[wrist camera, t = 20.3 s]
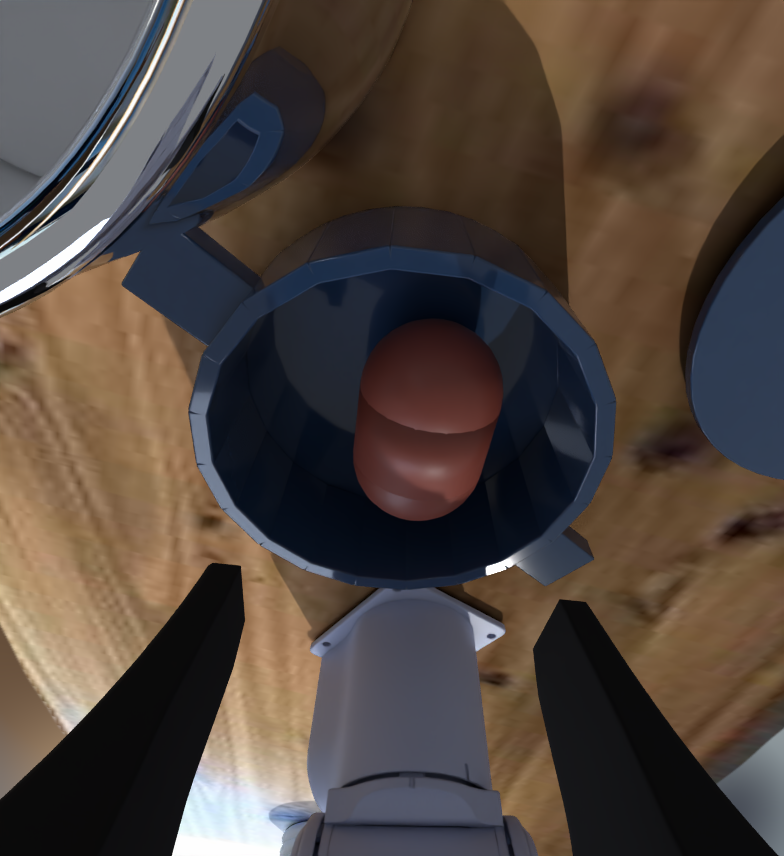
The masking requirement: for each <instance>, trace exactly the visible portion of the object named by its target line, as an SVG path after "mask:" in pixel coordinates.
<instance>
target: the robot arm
mask: <svg viewBox="0 0 784 856" xmlns="http://www.w3.org/2000/svg"><path fill="white" fill-rule="evenodd" d="M244 622H245V614H244V601H243V588H242V575H241V566H238V565H228V564H219V563H212V564H210V565H208V567H207V568H206V570H205V571H204V573H203V574H202V576H201V577H200V578H199V580H198V581H197V583H196V584H195V586H194V587H193V588H192V590H191V591H190V593H189V594H188V595H187V597H186V598H185V599H184V601H183V602H182V603H181V605H180V606H179V607H178V609H177V610H176V611H175V613H174V614H173V615H172V616H171V618H170V619H169V620H168V622H167V623H166V624H165V625H164V627H163V628H162V629H161V630H160V632H159V633H158V634H157V635H156V636H155V638H154V639H153V640H152V641H151V643H150V644H149V645H148V646H147V648H146V649H145V650H144V651H143V652H142V654H141V655H140V656H139V657H138V658H137V660H136V661H135V662H134V663H133V664H132V665H131V667H130V668H129V669H128V670H127V671H126V672H125V673H124V674H123V676H122V677H121V678H120V679H119V680H118V681H117V682H116V683H115V685H114V686H113V687H112V688H111V689H110V690H109V691H108V692H107V693H106V695H105V696H104V697H103V698H102V699H101V700H100V701H99V702H98V703H97V705H96V706H95V707H94V708H93V709H92V710H91V711H90V712H89V713H88V714H87V715H86V716H85V717H84V718H83V719H82V720H81V721H80V722H79V724H78V725H77V726H76V727H75V728H74V729H73V730H72V731H71V732H70V733H69V734H68V735H67V736H66V737H65V738H64V739H63V740H62V741H61V742H60V743H59V744H58V745H57V746H56V747H55V748H54V749H53V750H52V751H51V752H50V753H49V754H48V755H47V756H46V757H45V758H44V759H43V760H42V761H41V762H40V763H38V764H37V765H36V766H35V767H34V768H33V769H32V770H31V771H30V772H29V773H28V774H27V775H26V776H25V777H24V778H23V779H22V780H21V781H19V782H18V783H17V784H16V785H15V786H14V787H13V788H12V789H11V790H10V791H9V792H8V793H7V794H6V795H5V796H4V797H2V798H1V799H0V856H172V853H173V849H174V845H175V841H176V838H177V834H178V830H179V827H180V823H181V819H182V816H183V812H184V808H185V805H186V801H187V798H188V795H189V792H190V789H191V786H192V783H193V779H194V777H195V774H196V771H197V768H198V765H199V763H200V760H201V757H202V754H203V751H204V749H205V746H206V743H207V740H208V737H209V735H210V732H211V729H212V726H213V723H214V721H215V718H216V715H217V712H218V709H219V707H220V704H221V701H222V698H223V695H224V693H225V690H226V687H227V684H228V681H229V678H230V675H231V673H232V670H233V667H234V663H235V659H236V655H237V651H238V647H239V643H240V639H241V635H242V630H243V626H244ZM505 632H506V631H505V626H504V624H503V623H501V622H499V621H497V620H495V619H493V618H491V617H489V616H488V615H486V614H484V613H482V612H480V611H478V610H476V609H474V608H472V607H470V606H468V605H466V604H464V603H463V602H461V601H459V600H457V599H455V598H453V597H451V596H449V595H447V594H445V593H443V592H441V591H440V590H438V589H436V588H434V587H433V588H423V589H414V590H407V589H406V590H397V589H387V588H379V589H378V590H377V591H375V592H374V593H373V594H372V595H370V596H369V597H368V598H367V599H366V600H364V601H363V602H362V603H361V604H359V605H358V606H357V607H356V608H355V609H353V610H352V611H351V612H350V613H348V614H347V615H346V616H345V617H343V618H342V619H341V620H340V621H339V622H337V623H336V624H335V625H334V626H332V627H331V628H330V629H329V630H327V631H326V632H325V633H324V634H323V635H321V636H320V637H319V638H318V639H316V640H315V641H314V642H313V643H312V644H311V647H310V651H311V653H313V654H314V655H317V656H319V657H322V661H321V668H320V674H319V681H318V687H317V694H316V701H315V707H314V714H313V721H312V727H311V734H310V740H309V747H308V756H307V770H308V778H309V783H310V787H311V790H312V793H313V796H314V799H315V801H316V803H317V805H318V807H319V808H320V810H321V811H322V812H323V813H314V814H312V816H311V817H310V818H309V820H308V822H307V823H306V824H305V826H304V827H303V828H302V829H301V830H300V832H299V833H298V835H297V837H296V839H295V842H294V845H293V848H292V851H291V855H290V856H538V854H537V850H536V847H535V844H534V842H533V839H532V837H531V836H530V834H529V833H528V832H527V831H526V830H525V829H524V827H523V826H522V825H521V823H520V821H519V820H518V819H517V818H516V817H515V816H502V808H501V801H500V793H499V792H498V791H493V790H492V783H491V775H490V766H489V758H488V749H487V741H486V732H485V724H484V715H483V707H482V699H481V690H480V682H479V673H478V665H477V656H476V651H478V650H479V649H481V648H483V647H484V646H486V645H488V644H489V643H491V642H492V641H494V640H496V639H497V638H499V637H501V636H502V635H503V634H505ZM533 653H534V663H535V672H536V680H537V688H538V696H539V700H540V705H541V709H542V714H543V718H544V723H545V727H546V731H547V736H548V740H549V744H550V748H551V753H552V757H553V761H554V765H555V770H556V774H557V778H558V782H559V786H560V791H561V795H562V799H563V803H564V808H565V813H566V818H567V823H568V828H569V833H570V839H571V845H572V852H573V856H778V855H777V854H776V853H775V852H774V850H773V849H772V848H771V847H770V846H769V845H768V844H767V843H766V842H765V840H764V839H763V838H762V837H761V836H760V835H759V834H758V833H757V831H756V830H755V829H754V828H753V827H752V826H751V825H750V824H749V822H748V821H747V820H746V819H745V818H744V817H743V816H742V814H741V813H740V812H739V811H738V810H737V809H736V807H735V806H734V805H733V804H732V803H731V801H730V800H729V799H728V798H727V797H726V795H725V794H724V793H723V792H722V791H721V790H720V788H719V787H718V786H717V785H716V783H715V782H714V781H713V780H712V778H711V777H710V776H709V775H708V774H707V772H706V771H705V770H704V768H703V767H702V766H701V765H700V763H699V762H698V761H697V760H696V758H695V757H694V756H693V754H692V753H691V752H690V751H689V749H688V748H687V747H686V745H685V744H684V743H683V741H682V740H681V739H680V737H679V736H678V735H677V734H676V732H675V731H674V730H673V728H672V727H671V725H670V724H669V723H668V721H667V720H666V719H665V717H664V716H663V715H662V713H661V712H660V710H659V709H658V708H657V706H656V705H655V703H654V702H653V701H652V699H651V698H650V696H649V695H648V693H647V692H646V691H645V689H644V688H643V686H642V685H641V684H640V682H639V681H638V679H637V678H636V676H635V675H634V673H633V672H632V670H631V669H630V668H629V666H628V665H627V663H626V662H625V660H624V659H623V657H622V656H621V654H620V653H619V651H618V650H617V648H616V647H615V645H614V644H613V642H612V641H611V639H610V638H609V636H608V635H607V633H606V632H605V630H604V628H603V627H602V625H601V624H600V622H599V621H598V619H597V618H596V616H595V615H594V613H593V612H592V610H591V609H590V607H589V606H588V604H587V603H586V602H581V601H571V600H562V599H560V600H559V601H558V603H557V605H556V607H555V609H554V611H553V613H552V614H551V616H550V618H549V620H548V622H547V624H546V626H545V627H544V629H543V631H542V633H541V635H540V637H539V639H538V640H537V642H536V644H535V646H534V648H533Z"/></svg>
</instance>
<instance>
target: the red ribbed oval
mask: <svg viewBox="0 0 784 856" xmlns="http://www.w3.org/2000/svg"><path fill="white" fill-rule="evenodd" d="M502 400H503V380H502V374H501V370H500V367H499V364H498V362H497V359H496V358H495V356H494V354H493V352H492V350H491V349H490V347H489V346H488V345H487V344H486V343H485V342H484V341H483V340H482V339H481V338H480V336H478V335H477V334H476V333H475V332H473V331H471V330H470V329H468V328H466V327H465V326H463V325H461V324H459V323H456V322H453V321H449V320H444V319H435V318H431V319H422V320H416V321H411V322H408V323H406V324H404V325H402V326H400V327H397V328H396V329H394V330H392V331H391V332H390V333H388V334H387V335H386V336H385V337H383V338H382V339H381V340H380V341H379V343H378V344H377V345H376V346H375V348H374V349H373V350H372V351H371V353H370V355H369V357H368V360H367V362H366V364H365V366H364V368H363V372H362V376H361V381H360V390H359V400H358V409H357V419H356V428H355V438H354V447H353V464H354V468H355V472H356V475H357V479H358V482H359V484H360V485H361V487H362V489H363V491H364V492H365V494H366V495H367V497H368V498H369V499H370V500H371V501H372V502H373V503H374V504H375V505H377V506H378V507H379V508H381V509H382V510H383V511H385V512H387V513H388V514H390V515H392V516H395V517H398V518H400V519H405V520H411V521H424V520H431V519H435V518H439V517H442V516H444V515H446V514H448V513H450V512H452V511H453V510H455V509H456V508H458V507H459V506H460V505H461V504H463V503H464V502H465V500H466V499H467V498H468V497H469V496H470V494H471V493H472V492H473V490H474V489H475V487H476V484H477V482H478V480H479V478H480V475H481V472H482V469H483V466H484V462H485V459H486V456H487V453H488V449H489V446H490V443H491V440H492V437H493V433H494V430H495V427H496V424H497V420H498V417H499V414H500V411H501V406H502Z"/></svg>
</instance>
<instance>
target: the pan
mask: <svg viewBox="0 0 784 856" xmlns="http://www.w3.org/2000/svg"><path fill="white" fill-rule="evenodd" d="M122 286H123V287H124V288H126V289H127V290H129V291H130V292H132V293H133V294H134V295H136V296H137V297H139V298H140V299H141V300H143V301H144V302H146V303H147V304H148V305H150V306H151V307H153V308H154V309H155V310H157V311H158V312H160V313H161V314H163V315H164V316H165V317H167V318H168V319H170V320H171V321H172V322H174V323H175V324H177V325H178V326H179V327H181V328H182V329H184V330H185V331H186V332H188V333H189V334H191V335H192V336H194V337H195V338H196V339H198V340H199V341H201V342H202V343H203V344H205V345H206V346H207V348H206V349H205V350H204V352H203V354H202V356H201V360H200V364H199V368H198V372H197V376H196V380H195V384H194V388H193V392H192V396H191V400H190V404H189V408H188V409H189V412H188V414H189V420H190V426H191V433H192V439H193V446H194V452H195V458H196V463H197V467H198V468H199V470H200V472H201V474H202V475H203V477H204V479H205V481H206V483H207V484H208V486H209V488H210V490H211V492H212V493H213V495H214V497H215V499H216V500H217V502H218V504H219V506H220V508H221V509H222V510H223V511H224V512H225V513H226V514H227V515H228V516H229V517H230V518H231V519H232V520H233V521H234V522H236V523H237V524H238V525H239V526H240V527H241V528H242V529H243V530H244V531H245V532H246V533H247V534H248V535H249V536H250V537H251V538H252V539H253V540H254V541H255V542H256V543H258V544H260V546H262V547H264V548H265V549H267V550H269V551H271V552H273V553H274V554H276V555H278V556H280V557H281V558H283V559H285V560H287V561H289V562H290V563H292V564H294V565H296V566H297V567H299V568H301V569H303V570H306V571H308V572H311V573H315V574H318V575H321V576H325V577H328V578H331V579H335V580H338V581H341V582H344V583H348V584H351V585H354V584H355V586H365V587H376V588H387V589H397V590H406V589H407V590H414V589H423V588H433V587H442V586H452V585H458V584H462V583H466V582H469V581H472V580H475V579H478V578H481V577H484V576H487V575H491V574H494V573H497V572H500V571H503V570H506V569H507V568H511V567H512V566H514V565H516V566H517V567H519V568H520V569H522V570H523V571H524V572H526V573H527V574H529V575H530V576H531V577H533V578H534V579H536V580H537V581H538V582H540V583H541V584H543V585H544V586H547V585H549V584H551V583H552V582H554V581H556V580H558V579H560V578H562V577H563V576H565V575H567V574H569V573H571V572H572V571H574V570H576V569H578V568H580V567H581V566H583V565H585V564H587V563H589V562H591V561H592V560H594V557H593V554H592V552H591V549H590V547H589V544H588V542H587V540H586V539H585V538H583V537H582V536H581V535H580V534H578V533H577V532H576V531H575V530H573V529H572V528H571V527H570V526H569V525H570V524H571V523H572V522H573V521H574V520H575V519H576V518H577V517H578V516H579V515H580V514H581V513H582V512H583V511H584V510H585V509H586V508H587V506H588V505H589V504H590V503H591V501H592V499H593V497H594V495H595V492H596V490H597V488H598V486H599V484H600V482H601V480H602V478H603V476H604V474H605V472H606V469H607V467H608V465H609V463H610V461H611V459H612V455H613V443H614V429H615V414H616V397H615V394H614V392H613V389H612V386H611V383H610V380H609V378H608V375H607V372H606V369H605V367H604V364H603V361H602V358H601V355H600V353H599V350H598V347H597V344H596V343H595V341H594V339H593V338H592V337H591V335H590V334H589V332H588V331H587V330H586V328H585V327H584V325H583V324H582V323H581V321H580V320H579V319H578V317H577V316H576V314H575V313H574V312H573V310H572V309H571V307H570V306H569V305H568V303H567V302H566V300H565V299H564V298H563V296H562V295H561V294H560V292H559V291H558V289H557V288H556V287H555V285H554V284H553V283H552V282H551V281H550V280H549V279H548V278H547V276H546V275H545V274H544V273H543V272H542V271H541V270H540V269H539V268H538V266H537V265H536V264H535V263H534V261H533V260H532V259H531V258H530V257H528V256H527V255H526V254H525V252H524V251H523V250H522V249H521V248H520V247H519V246H518V245H517V244H515V243H514V242H512V241H510V240H508V239H507V238H505V237H504V236H503V235H501V234H500V233H498V232H497V231H495V230H493V229H491V228H489V227H487V226H485V225H483V224H481V223H479V222H477V221H475V220H473V219H470V218H467V217H464V216H460V215H457V214H454V213H451V212H448V211H442V210H436V209H431V208H425V207H405V206H393V207H384V208H375V209H368V210H364V211H360V212H356V213H352V214H349V215H345V216H342V217H339V218H337V219H335V220H332V221H329V222H327V223H325V224H323V225H320V226H319V227H317V228H315V229H314V230H312V231H310V232H309V233H307V234H305V235H304V236H302V237H300V238H299V239H297V240H296V241H295V242H294V243H293V244H291V245H290V246H289V247H287V248H286V249H284V250H283V251H281V252H280V253H279V254H278V255H277V256H276V257H275V258H274V260H273V261H272V262H271V264H270V265H269V266H268V268H267V269H266V270H265V271H264V273H263V274H262V275H261V277H259V276H258V275H257V274H256V273H255V272H253V271H252V270H251V269H250V268H248V267H247V266H246V265H245V264H243V263H242V262H241V261H240V260H238V259H237V258H236V257H235V256H233V255H232V254H231V253H230V252H229V251H227V250H226V249H225V248H224V247H222V246H221V245H220V244H219V243H217V242H216V241H215V240H214V239H212V238H211V237H210V236H209V235H207V234H206V233H205V232H204V231H202V230H201V229H200V228H199V227H197V228H194V229H192V230H190V231H187V232H185V233H183V234H180V235H178V236H176V237H173V238H171V239H169V240H166V241H164V242H162V243H159V244H157V245H154V246H152V247H150V248H147V249H144V250H142V251H140V252H139V254H138V256H137V257H136V259H135V261H134V263H133V264H132V266H131V268H130V269H129V271H128V273H127V274H126V276H125V278H124V279H123V281H122ZM431 318H435V319H444V320H449V321H453V322H456V323H459V324H461V325H463V326H465V327H466V328H468V329H470V330H471V331H473V332H475V333H476V334H477V335H478V336H480V338H481V339H482V340H483V341H484V342H485V343H486V344H487V345H488V346H489V347H490V349H491V350H492V352H493V354H494V356H495V358H496V359H497V362H498V364H499V367H500V370H501V374H502V380H503V400H502V406H501V411H500V414H499V417H498V420H497V424H496V427H495V430H494V433H493V437H492V440H491V443H490V446H489V449H488V453H487V456H486V459H485V462H484V466H483V469H482V472H481V475H480V478H479V480H478V482H477V484H476V487H475V489H474V490H473V492H472V493H471V494H470V496H469V497H468V498H467V499H466V500H465V502H464V503H463V504H461V505H460V506H459V507H458V508H456V509H455V510H453V511H452V512H450V513H448V514H446V515H444V516H442V517H439V518H435V519H431V520H424V521H411V520H405V519H400V518H398V517H395V516H392V515H390V514H388V513H387V512H385V511H383V510H382V509H381V508H379V507H378V506H377V505H375V504H374V503H373V502H372V501H371V500H370V499H369V498H368V497H367V495H366V494H365V492H364V491H363V489H362V487H361V485H360V484H359V482H358V479H357V475H356V472H355V468H354V464H353V447H354V438H355V428H356V419H357V409H358V400H359V390H360V381H361V376H362V372H363V368H364V366H365V364H366V362H367V360H368V357H369V355H370V353H371V351H372V350H373V349H374V348H375V346H376V345H377V344H378V343H379V341H380V340H381V339H382V338H383V337H385V336H386V335H387V334H388V333H390V332H391V331H392V330H394V329H396V328H397V327H400V326H402V325H404V324H406V323H408V322H411V321H416V320H422V319H431Z"/></svg>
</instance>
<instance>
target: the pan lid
mask: <svg viewBox="0 0 784 856" xmlns="http://www.w3.org/2000/svg"><path fill="white" fill-rule="evenodd" d="M685 378H686V393H687V397H688V401H689V406H690V410H691V412H692V414H693V417H694V419H695V421H696V423H697V425H698V427H699V428H700V430H701V431H702V432H703V434H704V435H705V436H706V438H707V439H708V440H709V442H710V443H711V444H712V445H713V446H714V447H715V448H716V449H717V450H718V451H719V452H720V453H722V454H723V455H724V456H725V457H726V458H728V459H730V460H731V461H733V462H734V463H736V464H737V465H739V466H741V467H743V468H746V469H748V470H750V471H753V472H755V473H758V474H761V475H765V476H769V477H772V478H776V479H783V480H784V196H783V197H782V198H781V199H780V200H779V201H778V202H777V203H776V204H775V205H774V206H773V207H772V208H771V209H770V210H769V211H768V212H767V213H766V214H765V215H764V216H763V217H762V218H761V219H760V220H759V222H758V223H757V224H756V225H755V226H754V228H753V229H752V230H751V231H750V233H749V234H748V235H747V236H746V237H745V239H744V240H743V241H742V242H741V243H740V245H739V246H738V247H737V248H736V250H735V251H734V253H733V254H732V256H731V257H730V259H729V260H728V261H727V263H726V264H725V266H724V267H723V269H722V270H721V272H720V273H719V275H718V276H717V278H716V280H715V282H714V284H713V286H712V287H711V289H710V291H709V293H708V295H707V297H706V299H705V300H704V302H703V305H702V307H701V310H700V312H699V315H698V317H697V320H696V322H695V325H694V328H693V331H692V335H691V339H690V343H689V347H688V351H687V360H686V369H685Z"/></svg>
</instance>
